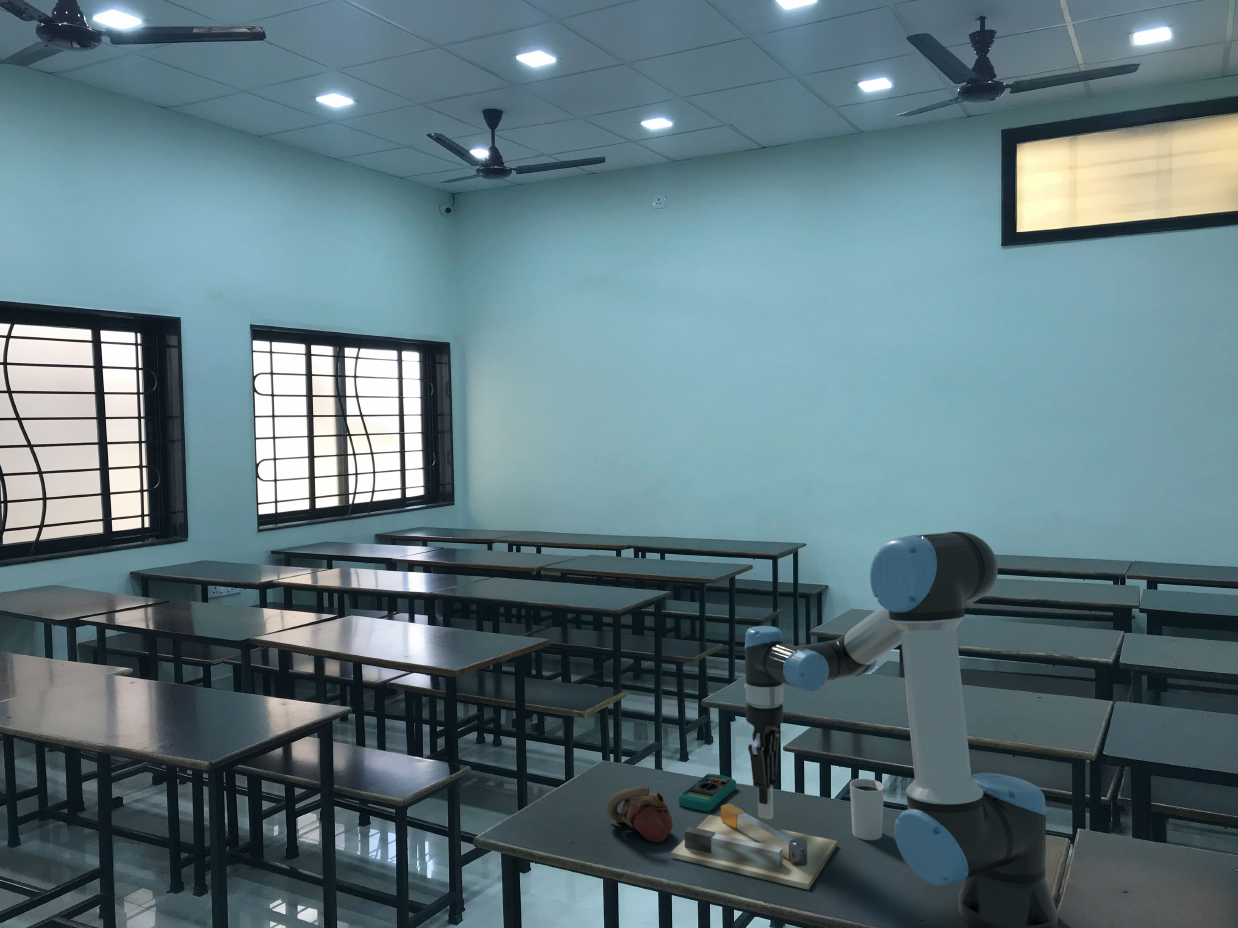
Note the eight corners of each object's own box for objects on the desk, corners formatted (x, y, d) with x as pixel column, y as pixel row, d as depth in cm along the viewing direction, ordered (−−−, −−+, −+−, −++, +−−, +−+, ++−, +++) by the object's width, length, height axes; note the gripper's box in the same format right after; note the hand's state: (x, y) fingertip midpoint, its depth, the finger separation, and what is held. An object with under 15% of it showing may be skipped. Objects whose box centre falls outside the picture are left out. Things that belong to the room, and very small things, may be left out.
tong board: (837, 845, 176) (836, 824, 176) (808, 889, 159) (808, 866, 159) (709, 819, 189) (709, 799, 189) (671, 857, 172) (670, 835, 172)
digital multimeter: (737, 789, 206) (737, 776, 206) (709, 814, 192) (709, 800, 192) (707, 783, 210) (707, 770, 209) (677, 807, 196) (677, 793, 196)
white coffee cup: (855, 841, 178) (855, 791, 177) (846, 826, 184) (845, 778, 184) (888, 840, 178) (888, 790, 178) (878, 825, 185) (877, 777, 184)
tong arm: (810, 862, 167) (810, 843, 167) (797, 867, 165) (797, 847, 165) (731, 817, 187) (731, 800, 187) (719, 820, 185) (719, 803, 185)
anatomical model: (666, 859, 180) (610, 823, 190) (690, 822, 184) (634, 789, 194) (648, 828, 172) (591, 793, 182) (674, 791, 177) (616, 758, 186)
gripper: (758, 692, 191) (759, 801, 191) (735, 709, 179) (736, 825, 180) (792, 696, 187) (793, 808, 188) (771, 714, 176) (772, 832, 176)
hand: (765, 816), depth 184 cm, fingers closed
